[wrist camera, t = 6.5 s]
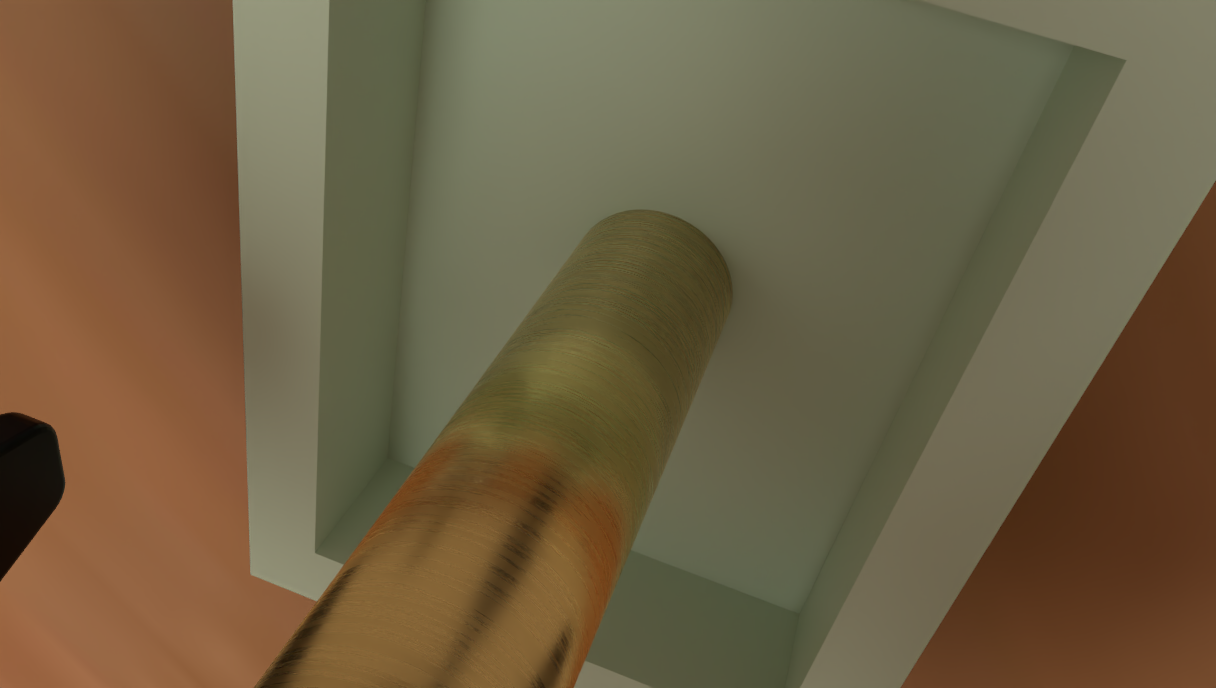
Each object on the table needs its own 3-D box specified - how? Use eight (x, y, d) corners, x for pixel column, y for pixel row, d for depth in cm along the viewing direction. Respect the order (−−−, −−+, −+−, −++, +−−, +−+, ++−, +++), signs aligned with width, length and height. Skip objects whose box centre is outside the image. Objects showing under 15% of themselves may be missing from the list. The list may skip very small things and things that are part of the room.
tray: (1268, -105, 10) (1352, -39, 8) (847, 659, 18) (826, 807, 16) (377, -339, 12) (222, -342, 9) (340, 464, 20) (250, 574, 17)
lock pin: (799, 222, 13) (515, 1014, 5) (731, 412, 15) (452, 1194, 7) (561, 144, 14) (-18, 770, 6) (526, 338, 16) (58, 1001, 8)
